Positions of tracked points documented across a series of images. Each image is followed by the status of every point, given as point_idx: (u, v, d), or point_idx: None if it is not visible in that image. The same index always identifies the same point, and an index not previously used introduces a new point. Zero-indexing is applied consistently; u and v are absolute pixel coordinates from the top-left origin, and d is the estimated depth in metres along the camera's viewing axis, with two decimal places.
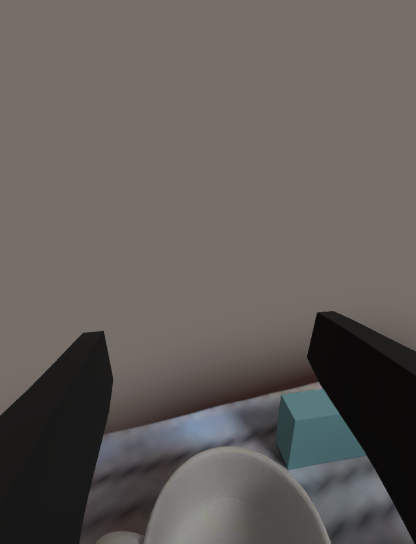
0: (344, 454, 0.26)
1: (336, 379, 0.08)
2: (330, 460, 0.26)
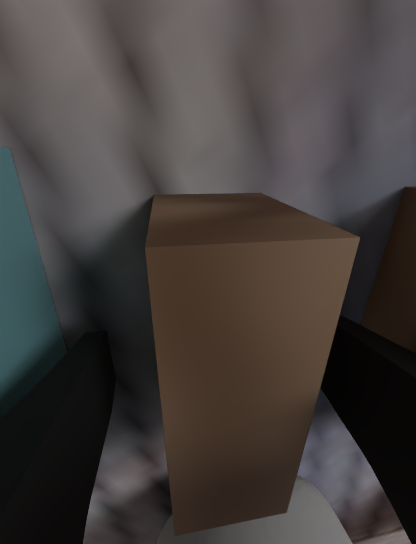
0: (53, 341, 0.09)
1: (334, 379, 0.08)
2: None
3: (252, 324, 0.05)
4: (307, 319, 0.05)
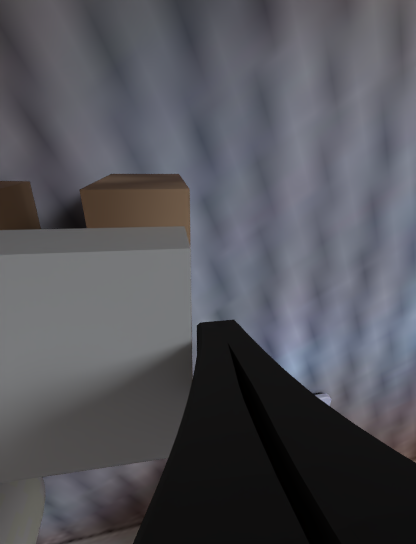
0: None
1: None
2: None
3: None
4: None
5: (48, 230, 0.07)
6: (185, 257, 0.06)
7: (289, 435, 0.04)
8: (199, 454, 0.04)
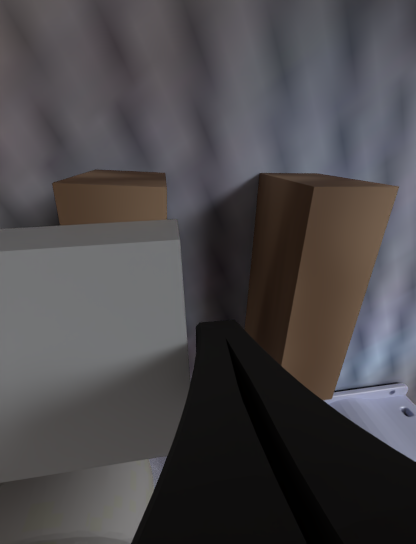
0: None
1: None
2: None
3: None
4: None
5: (39, 227, 0.07)
6: (175, 249, 0.06)
7: (290, 435, 0.04)
8: (198, 455, 0.04)
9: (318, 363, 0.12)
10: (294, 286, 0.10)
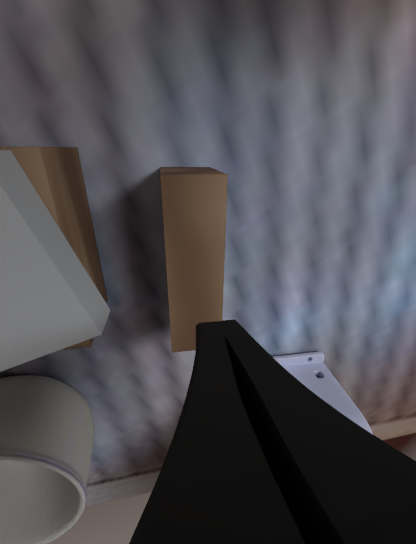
0: None
1: None
2: None
3: None
4: None
5: None
6: None
7: (291, 435, 0.04)
8: (196, 455, 0.04)
9: (200, 314, 0.15)
10: (165, 251, 0.13)
